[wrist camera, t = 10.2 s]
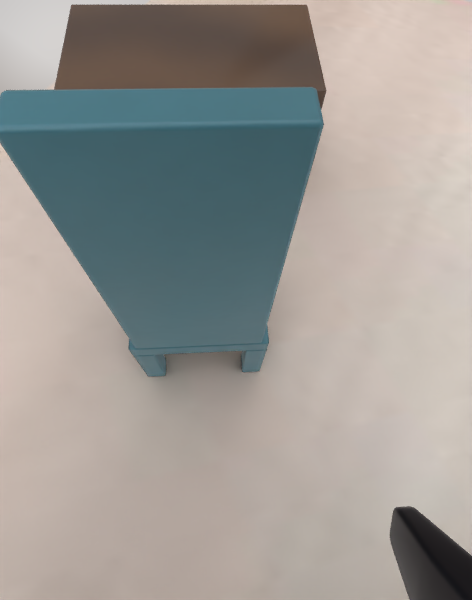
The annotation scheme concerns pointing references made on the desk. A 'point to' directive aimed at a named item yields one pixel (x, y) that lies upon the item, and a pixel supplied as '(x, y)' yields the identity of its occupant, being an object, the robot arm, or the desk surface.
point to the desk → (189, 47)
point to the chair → (172, 203)
